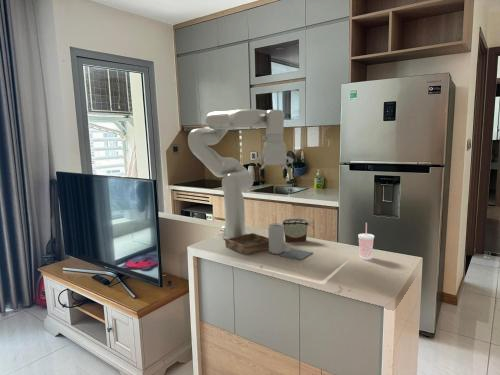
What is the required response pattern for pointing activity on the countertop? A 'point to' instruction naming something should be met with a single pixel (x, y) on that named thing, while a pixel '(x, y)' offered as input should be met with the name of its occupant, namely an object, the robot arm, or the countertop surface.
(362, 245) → the beverage cup
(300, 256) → the charcoal mat
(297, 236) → the food container
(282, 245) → the beverage can
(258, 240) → the walnut box
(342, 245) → the countertop surface
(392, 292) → the countertop surface
